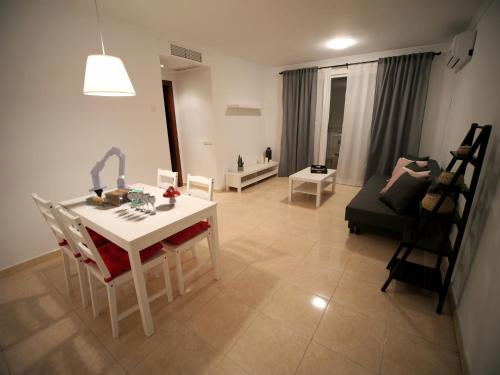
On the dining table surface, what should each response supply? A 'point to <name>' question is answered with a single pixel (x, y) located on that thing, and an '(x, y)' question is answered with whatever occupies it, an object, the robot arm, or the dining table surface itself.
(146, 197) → the goblet set
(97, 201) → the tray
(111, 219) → the dining table surface
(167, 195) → the decorative mushroom
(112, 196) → the brown boxy piece
